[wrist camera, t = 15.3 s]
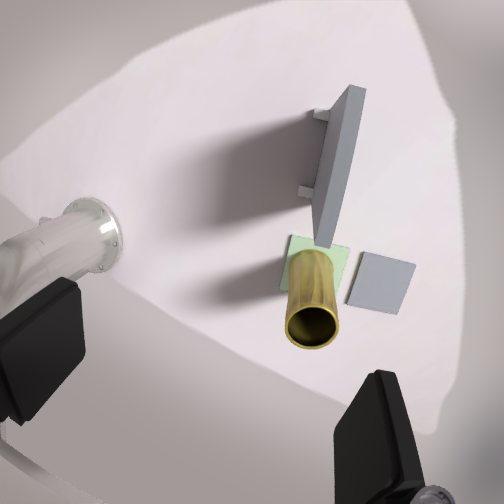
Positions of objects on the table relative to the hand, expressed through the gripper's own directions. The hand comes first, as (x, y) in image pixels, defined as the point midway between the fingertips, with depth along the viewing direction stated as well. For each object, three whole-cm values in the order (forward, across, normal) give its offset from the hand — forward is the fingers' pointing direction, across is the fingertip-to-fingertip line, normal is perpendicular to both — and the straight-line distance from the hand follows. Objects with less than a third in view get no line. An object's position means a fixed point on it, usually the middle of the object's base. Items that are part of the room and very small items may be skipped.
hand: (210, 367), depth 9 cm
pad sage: (+33, -7, +9) cm, 35 cm away
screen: (+33, -4, -6) cm, 34 cm away
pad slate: (+33, -17, +8) cm, 38 cm away
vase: (+33, -7, +9) cm, 35 cm away
